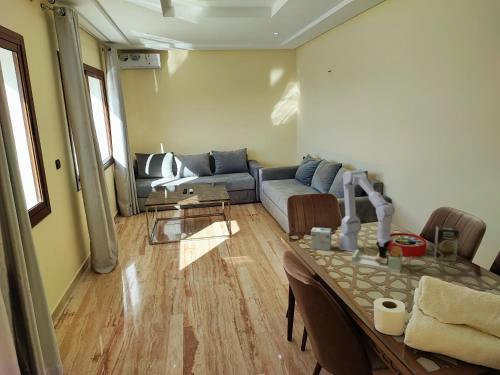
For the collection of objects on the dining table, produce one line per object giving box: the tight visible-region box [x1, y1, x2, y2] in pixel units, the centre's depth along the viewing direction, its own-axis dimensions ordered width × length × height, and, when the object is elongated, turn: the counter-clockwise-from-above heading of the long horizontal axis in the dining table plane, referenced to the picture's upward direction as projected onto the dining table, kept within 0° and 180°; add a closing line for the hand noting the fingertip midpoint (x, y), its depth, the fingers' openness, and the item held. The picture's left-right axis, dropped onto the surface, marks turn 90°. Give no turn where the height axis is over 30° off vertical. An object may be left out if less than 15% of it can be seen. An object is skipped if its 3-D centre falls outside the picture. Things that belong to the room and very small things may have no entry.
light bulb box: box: [310, 227, 332, 252], centre depth 190 cm, size 11×7×11 cm, turn 71°
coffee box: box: [433, 225, 460, 262], centre depth 170 cm, size 9×6×16 cm
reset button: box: [391, 246, 402, 257], centre depth 163 cm, size 5×5×6 cm
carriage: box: [375, 251, 390, 264], centre depth 166 cm, size 5×8×7 cm, turn 151°
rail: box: [351, 249, 403, 274], centre depth 168 cm, size 22×10×6 cm, turn 61°
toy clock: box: [387, 232, 427, 258], centre depth 184 cm, size 20×6×20 cm
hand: (383, 255), depth 166 cm, fingers closed on carriage, 3 cm apart
